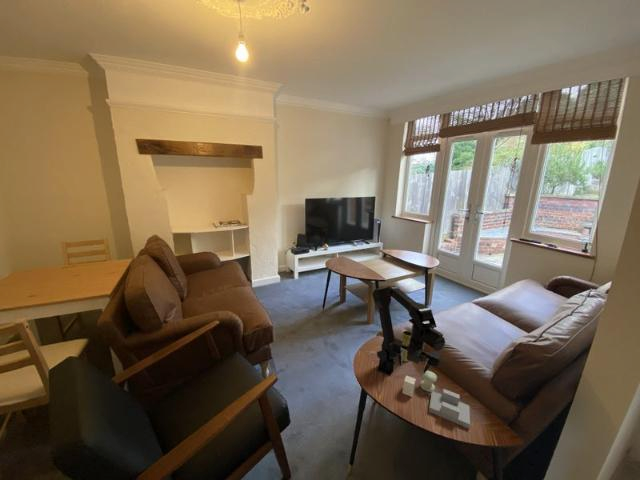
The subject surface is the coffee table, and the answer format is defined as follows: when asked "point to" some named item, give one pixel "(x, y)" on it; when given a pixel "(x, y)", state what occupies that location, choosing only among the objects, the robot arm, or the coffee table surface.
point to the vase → (405, 343)
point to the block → (408, 386)
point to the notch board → (462, 407)
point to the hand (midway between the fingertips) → (411, 369)
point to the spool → (428, 381)
